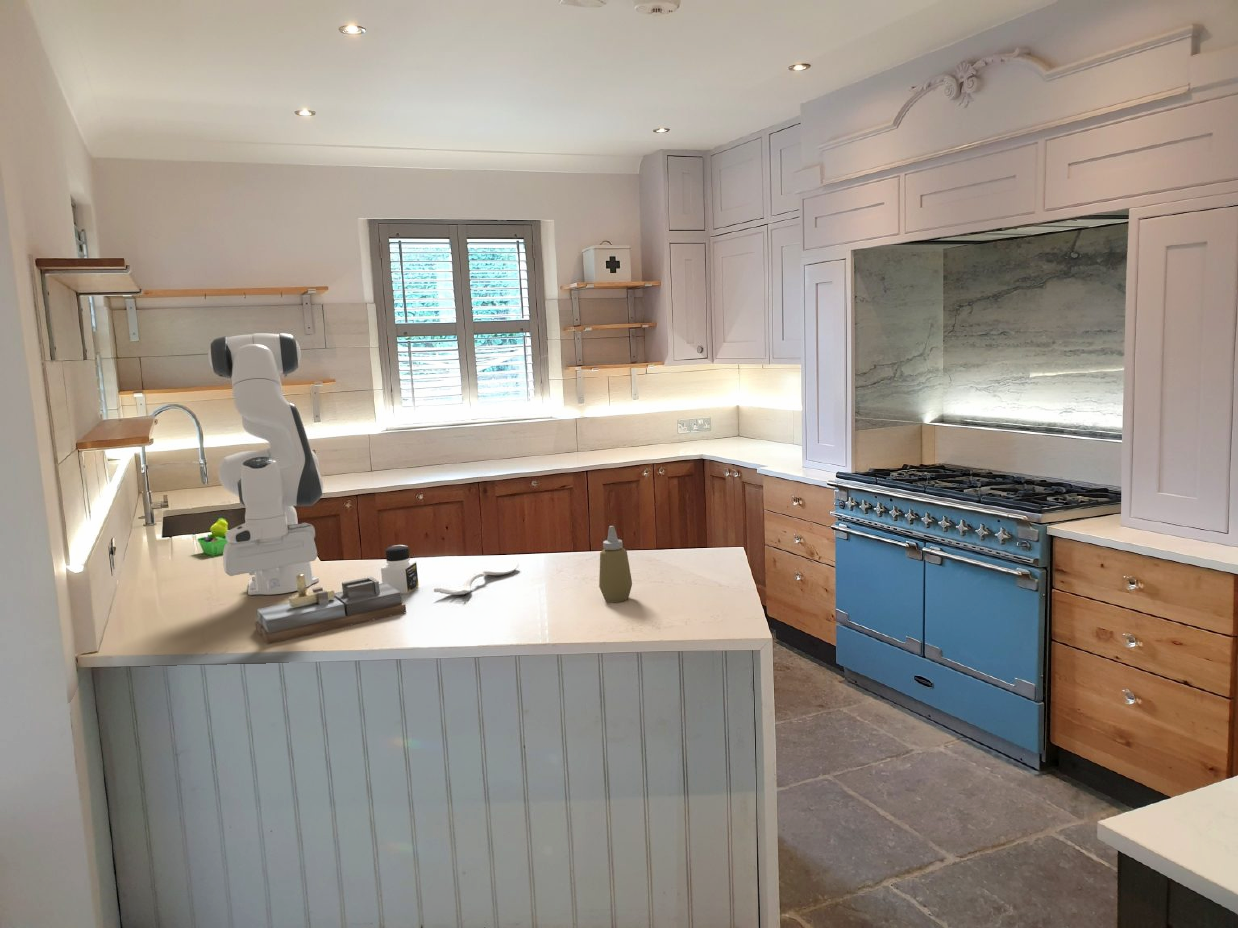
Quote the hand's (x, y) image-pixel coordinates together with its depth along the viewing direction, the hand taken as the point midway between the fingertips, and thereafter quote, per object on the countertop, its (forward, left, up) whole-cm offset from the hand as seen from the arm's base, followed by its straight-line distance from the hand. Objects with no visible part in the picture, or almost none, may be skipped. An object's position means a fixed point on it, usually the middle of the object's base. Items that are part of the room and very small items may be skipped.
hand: (274, 586), depth 207 cm
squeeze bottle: (+35, +71, -11) cm, 80 cm away
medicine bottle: (-14, +34, -11) cm, 38 cm away
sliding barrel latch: (0, +12, -11) cm, 16 cm away
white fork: (-4, +53, -11) cm, 54 cm away
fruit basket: (-111, +3, -11) cm, 112 cm away
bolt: (0, +8, -5) cm, 10 cm away
